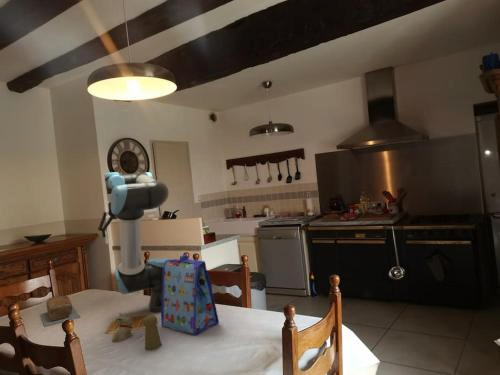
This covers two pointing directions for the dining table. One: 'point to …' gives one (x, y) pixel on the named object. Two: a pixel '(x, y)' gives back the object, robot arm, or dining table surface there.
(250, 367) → the dining table surface
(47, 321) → the mat
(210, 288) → the lunch bag
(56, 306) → the block
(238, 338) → the dining table surface
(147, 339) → the cork
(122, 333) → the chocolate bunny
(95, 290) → the dining table surface
